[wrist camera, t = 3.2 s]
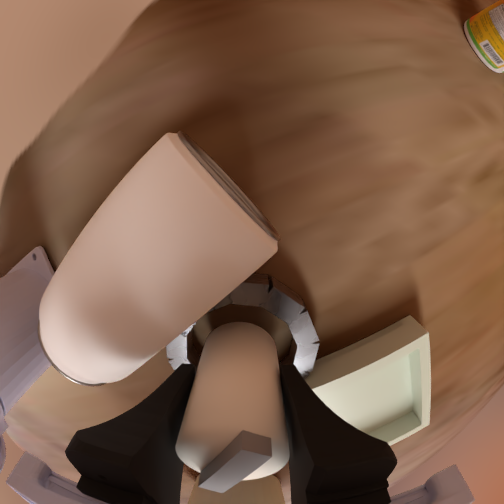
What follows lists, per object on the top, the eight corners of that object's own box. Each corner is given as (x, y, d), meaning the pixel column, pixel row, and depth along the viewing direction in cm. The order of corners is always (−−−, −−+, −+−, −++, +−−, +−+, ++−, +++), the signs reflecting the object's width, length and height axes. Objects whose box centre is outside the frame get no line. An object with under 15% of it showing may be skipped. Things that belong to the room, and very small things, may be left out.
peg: (254, 388, 15) (255, 501, 7) (193, 362, 14) (158, 475, 7) (290, 340, 14) (316, 461, 6) (222, 309, 14) (194, 429, 6)
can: (176, 122, 11) (51, 277, 13) (170, 129, 6) (14, 354, 8) (259, 208, 15) (128, 330, 17) (308, 273, 9) (122, 411, 11)
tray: (306, 455, 19) (309, 475, 16) (257, 381, 16) (258, 406, 14) (418, 407, 18) (429, 424, 15) (409, 314, 15) (428, 332, 13)
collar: (213, 401, 17) (210, 417, 15) (148, 304, 15) (139, 315, 14) (328, 363, 16) (333, 378, 15) (280, 248, 14) (284, 255, 13)
